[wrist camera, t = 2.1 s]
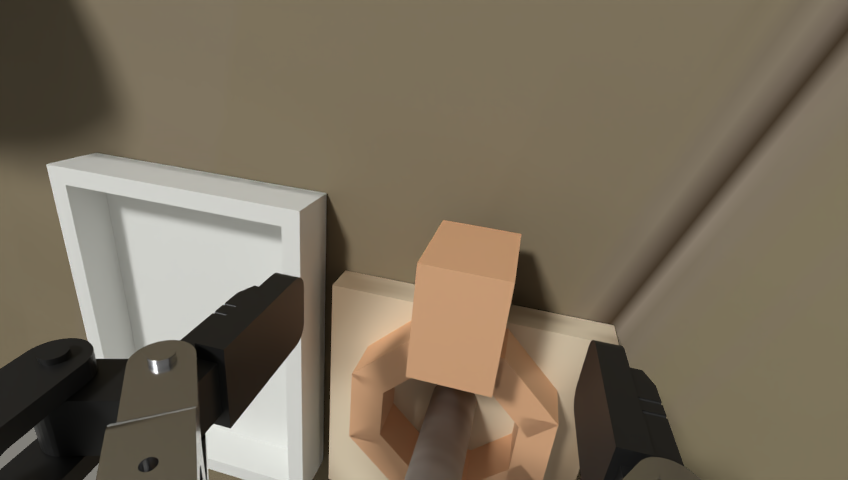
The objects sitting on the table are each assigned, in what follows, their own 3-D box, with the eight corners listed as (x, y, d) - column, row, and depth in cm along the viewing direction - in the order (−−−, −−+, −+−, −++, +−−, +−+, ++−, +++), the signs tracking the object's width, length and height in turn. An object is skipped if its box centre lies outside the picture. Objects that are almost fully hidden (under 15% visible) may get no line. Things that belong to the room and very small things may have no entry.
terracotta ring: (596, 247, 17) (610, 301, 13) (530, 488, 22) (527, 575, 18) (376, 208, 18) (334, 247, 15) (362, 442, 23) (329, 514, 20)
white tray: (326, 193, 20) (299, 211, 18) (323, 459, 27) (302, 497, 25) (96, 152, 22) (46, 164, 20) (144, 408, 29) (111, 438, 27)
